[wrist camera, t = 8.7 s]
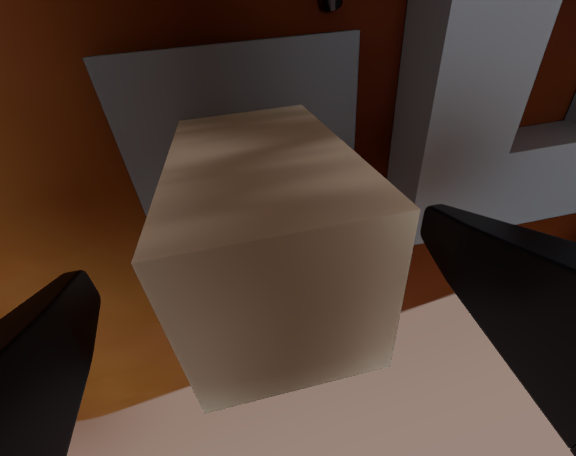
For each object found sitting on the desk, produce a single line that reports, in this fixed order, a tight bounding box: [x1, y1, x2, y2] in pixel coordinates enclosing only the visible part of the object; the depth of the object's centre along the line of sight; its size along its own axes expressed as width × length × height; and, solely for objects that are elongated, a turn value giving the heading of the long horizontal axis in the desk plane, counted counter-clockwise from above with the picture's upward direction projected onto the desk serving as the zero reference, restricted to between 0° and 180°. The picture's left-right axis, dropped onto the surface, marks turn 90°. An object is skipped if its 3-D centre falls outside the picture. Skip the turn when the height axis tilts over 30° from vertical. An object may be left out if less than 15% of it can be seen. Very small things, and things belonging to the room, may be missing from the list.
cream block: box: [131, 105, 421, 413], centre depth 9 cm, size 4×4×8 cm
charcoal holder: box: [387, 0, 576, 245], centre depth 12 cm, size 13×13×2 cm
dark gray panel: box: [83, 30, 360, 217], centre depth 13 cm, size 9×9×1 cm
